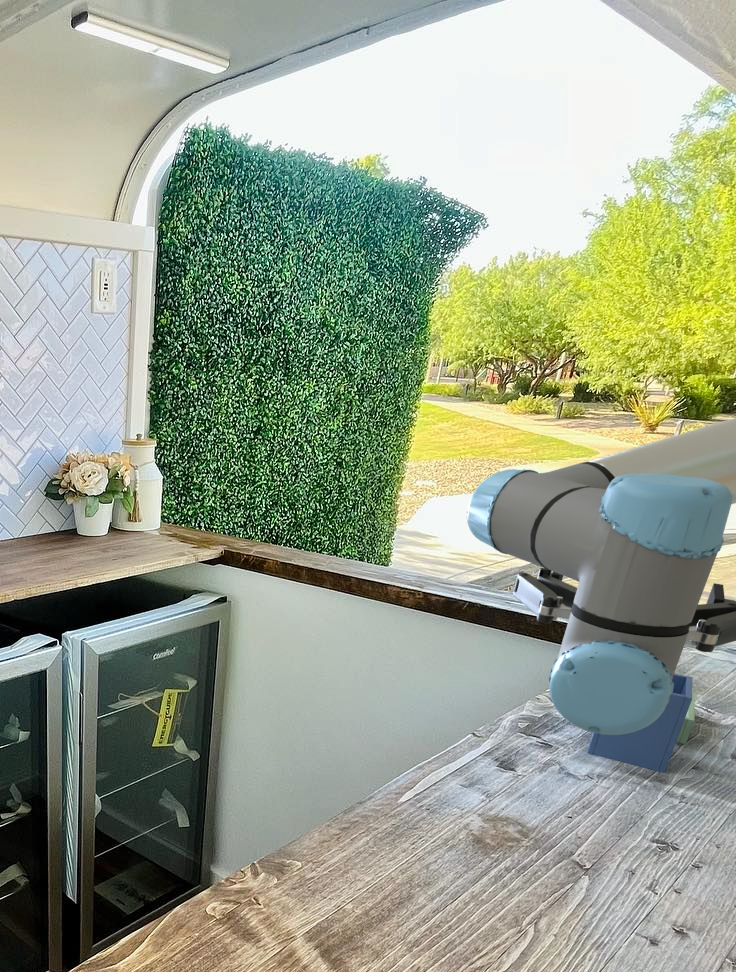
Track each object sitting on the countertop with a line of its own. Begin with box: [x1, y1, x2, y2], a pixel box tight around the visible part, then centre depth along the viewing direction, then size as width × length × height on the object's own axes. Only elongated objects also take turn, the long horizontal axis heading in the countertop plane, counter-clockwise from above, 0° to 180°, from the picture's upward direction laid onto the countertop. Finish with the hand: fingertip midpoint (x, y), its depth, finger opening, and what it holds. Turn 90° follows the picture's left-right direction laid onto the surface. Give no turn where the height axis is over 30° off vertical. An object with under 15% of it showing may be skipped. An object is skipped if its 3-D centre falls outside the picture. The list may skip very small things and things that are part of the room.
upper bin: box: [587, 673, 693, 774], centre depth 99 cm, size 8×8×11 cm
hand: (633, 584), depth 84 cm, fingers open, 13 cm apart
